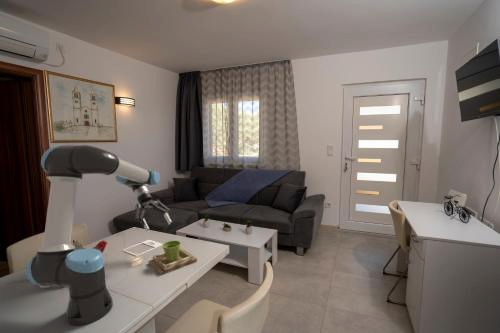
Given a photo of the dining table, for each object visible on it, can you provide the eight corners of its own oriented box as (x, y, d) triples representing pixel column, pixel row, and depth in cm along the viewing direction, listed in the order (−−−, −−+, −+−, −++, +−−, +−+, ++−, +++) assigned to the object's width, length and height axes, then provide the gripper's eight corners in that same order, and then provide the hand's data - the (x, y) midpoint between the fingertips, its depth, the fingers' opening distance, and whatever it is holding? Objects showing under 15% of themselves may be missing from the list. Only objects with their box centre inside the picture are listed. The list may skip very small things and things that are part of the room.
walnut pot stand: (160, 275, 122) (159, 268, 122) (148, 263, 134) (147, 257, 134) (197, 261, 135) (196, 255, 135) (183, 251, 147) (183, 246, 147)
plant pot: (174, 265, 128) (173, 248, 127) (159, 262, 131) (158, 246, 130) (185, 256, 137) (184, 241, 136) (170, 254, 140) (169, 239, 139)
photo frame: (163, 243, 158) (136, 255, 143) (163, 245, 158) (136, 257, 143) (149, 239, 166) (122, 249, 151) (149, 240, 166) (122, 251, 151)
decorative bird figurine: (109, 257, 143) (108, 240, 142) (71, 267, 132) (69, 249, 131) (108, 255, 145) (107, 238, 144) (71, 265, 134) (69, 247, 133)
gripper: (160, 196, 158) (176, 223, 151) (119, 204, 139) (135, 237, 131) (164, 188, 155) (181, 216, 147) (123, 196, 135) (139, 229, 128)
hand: (159, 226), depth 139 cm, fingers open, 13 cm apart
